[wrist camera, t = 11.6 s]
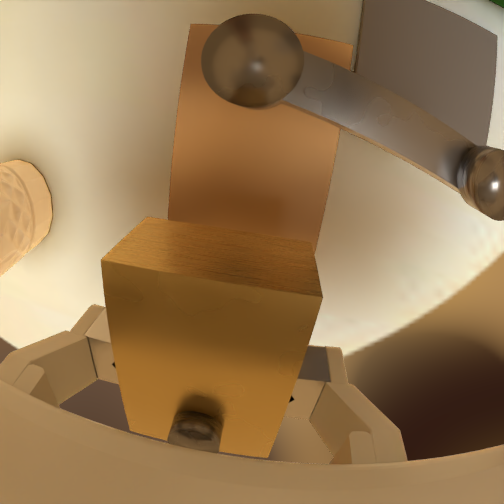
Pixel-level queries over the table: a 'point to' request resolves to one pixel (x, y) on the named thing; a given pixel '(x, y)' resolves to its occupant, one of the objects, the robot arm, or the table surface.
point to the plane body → (251, 155)
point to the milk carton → (499, 2)
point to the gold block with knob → (209, 331)
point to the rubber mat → (431, 61)
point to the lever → (346, 105)
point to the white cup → (22, 211)
